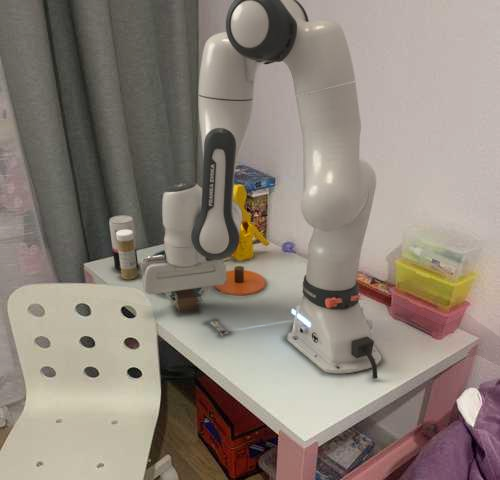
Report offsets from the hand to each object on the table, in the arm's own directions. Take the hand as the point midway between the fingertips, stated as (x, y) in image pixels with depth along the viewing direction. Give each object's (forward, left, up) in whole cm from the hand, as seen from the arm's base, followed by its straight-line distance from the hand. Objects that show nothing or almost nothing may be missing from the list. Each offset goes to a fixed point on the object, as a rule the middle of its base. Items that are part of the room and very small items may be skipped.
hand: (186, 303), depth 122 cm
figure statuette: (+27, -24, -2) cm, 36 cm away
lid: (+9, -17, -1) cm, 19 cm away
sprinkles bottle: (+23, +11, -2) cm, 26 cm away
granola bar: (-11, -5, -2) cm, 12 cm away
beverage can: (+29, +11, -2) cm, 31 cm away
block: (0, 0, -2) cm, 2 cm away
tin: (+13, -1, -2) cm, 13 cm away
